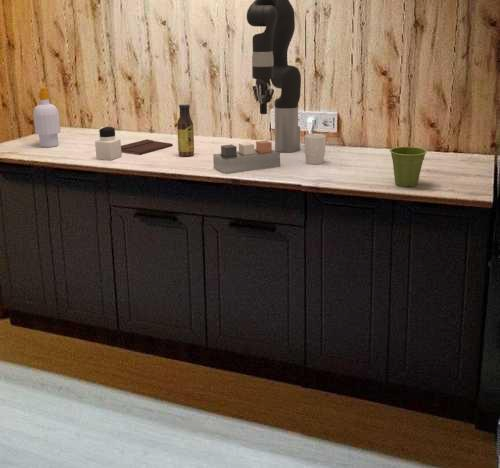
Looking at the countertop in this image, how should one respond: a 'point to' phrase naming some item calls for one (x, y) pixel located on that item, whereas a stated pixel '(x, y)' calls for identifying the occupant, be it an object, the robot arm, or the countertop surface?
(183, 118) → the sauce bottle
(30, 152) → the countertop surface
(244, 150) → the off-white cube
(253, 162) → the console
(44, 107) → the soap bottle
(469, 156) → the countertop surface
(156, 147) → the notebook
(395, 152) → the plant pot
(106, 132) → the medicine bottle
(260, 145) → the terracotta key
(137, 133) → the countertop surface
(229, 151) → the charcoal key
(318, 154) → the grey cup
